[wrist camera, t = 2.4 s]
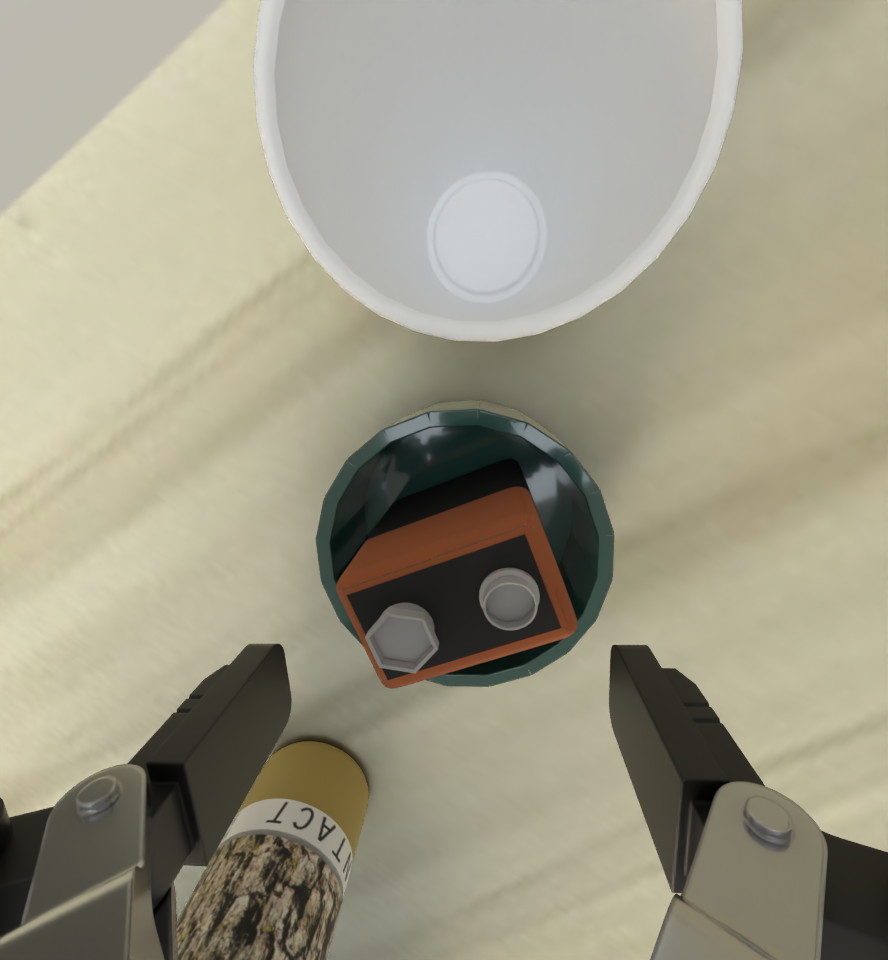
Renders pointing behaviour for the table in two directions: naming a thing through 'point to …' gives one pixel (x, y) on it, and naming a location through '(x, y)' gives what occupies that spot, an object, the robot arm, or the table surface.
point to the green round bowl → (450, 454)
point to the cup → (492, 147)
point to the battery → (456, 579)
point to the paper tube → (280, 862)
